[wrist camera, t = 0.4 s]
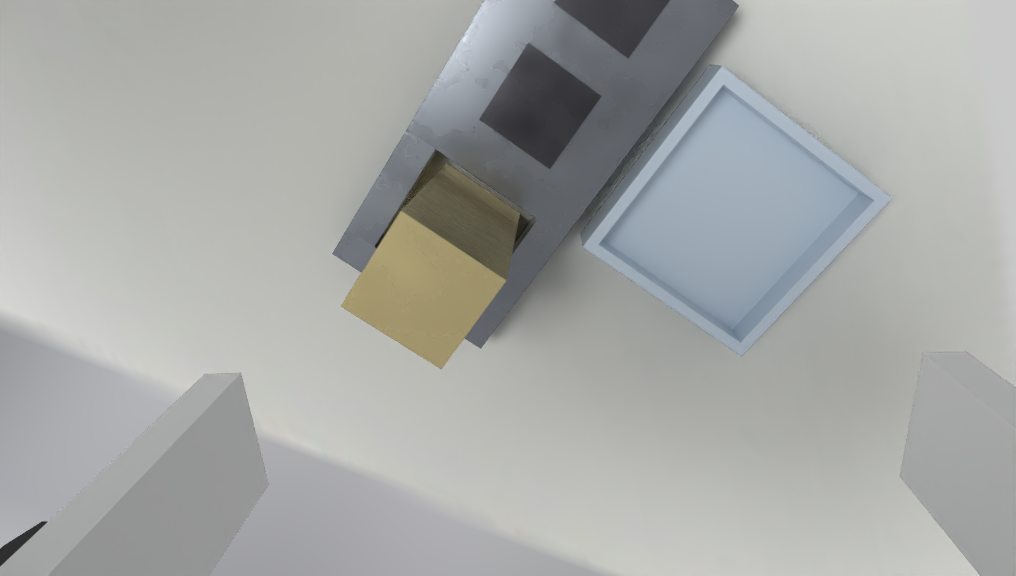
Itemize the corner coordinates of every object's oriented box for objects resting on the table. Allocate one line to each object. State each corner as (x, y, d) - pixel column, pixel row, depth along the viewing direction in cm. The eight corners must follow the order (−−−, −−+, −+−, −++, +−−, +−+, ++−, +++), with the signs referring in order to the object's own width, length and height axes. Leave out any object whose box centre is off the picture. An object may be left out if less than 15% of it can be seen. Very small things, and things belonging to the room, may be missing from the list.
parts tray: (580, 234, 35) (582, 247, 33) (709, 65, 32) (722, 66, 29) (729, 337, 37) (741, 356, 35) (868, 187, 33) (892, 197, 31)
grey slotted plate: (343, 243, 37) (331, 254, 35) (564, -122, 29) (564, -134, 27) (484, 333, 38) (480, 349, 36) (727, 8, 31) (739, 5, 29)
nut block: (401, 233, 36) (340, 306, 26) (446, 162, 34) (400, 210, 24) (472, 280, 37) (441, 369, 27) (520, 213, 35) (506, 280, 25)
